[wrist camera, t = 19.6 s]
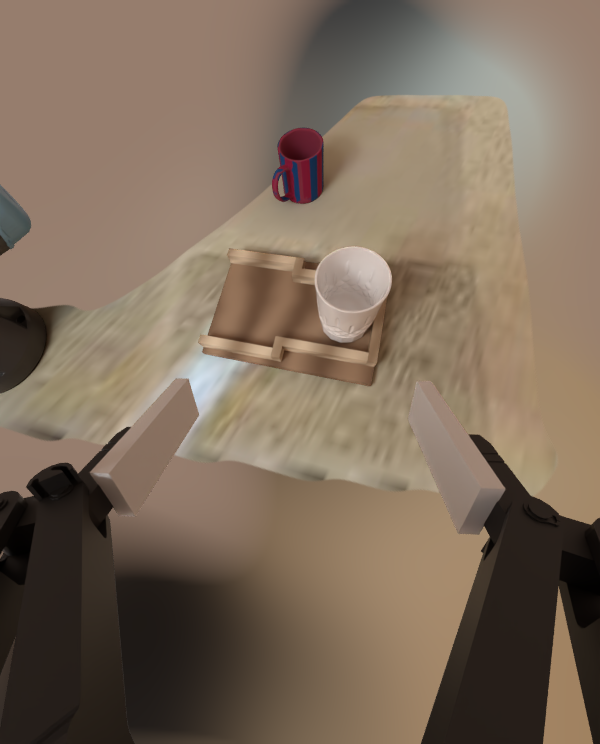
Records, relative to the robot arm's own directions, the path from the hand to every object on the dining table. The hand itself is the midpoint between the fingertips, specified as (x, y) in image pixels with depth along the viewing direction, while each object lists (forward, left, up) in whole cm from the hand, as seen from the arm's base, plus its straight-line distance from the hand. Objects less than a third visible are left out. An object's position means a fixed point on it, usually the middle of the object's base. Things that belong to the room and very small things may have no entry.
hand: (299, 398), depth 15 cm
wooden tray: (-5, +15, -19) cm, 25 cm away
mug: (-10, +37, -20) cm, 43 cm away
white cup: (+2, +15, -19) cm, 24 cm away
